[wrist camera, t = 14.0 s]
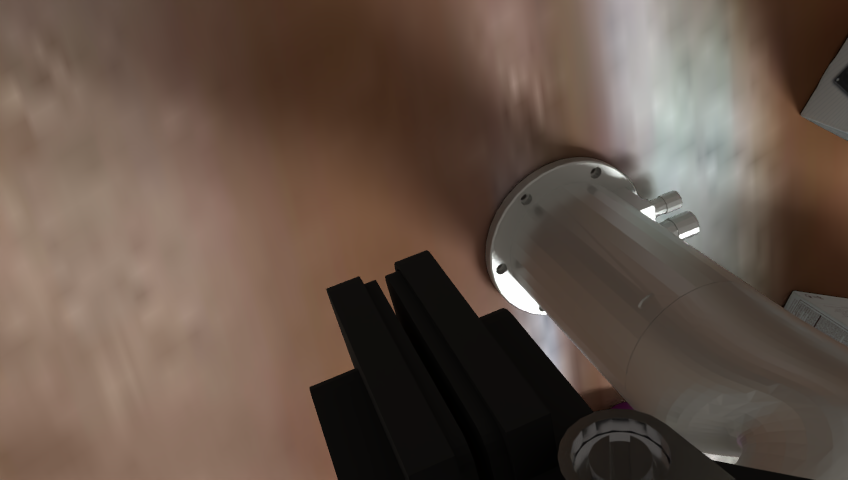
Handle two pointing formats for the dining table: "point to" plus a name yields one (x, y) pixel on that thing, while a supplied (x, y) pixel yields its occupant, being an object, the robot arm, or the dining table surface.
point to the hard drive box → (831, 97)
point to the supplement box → (821, 313)
